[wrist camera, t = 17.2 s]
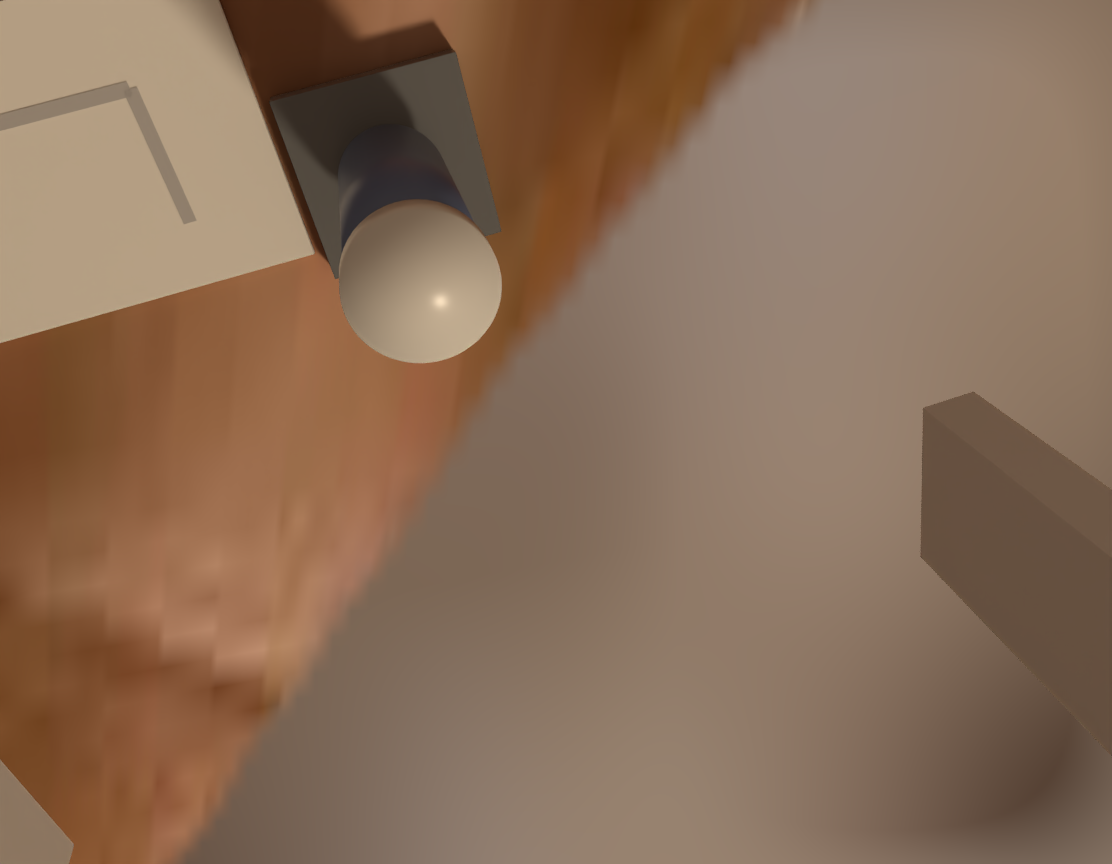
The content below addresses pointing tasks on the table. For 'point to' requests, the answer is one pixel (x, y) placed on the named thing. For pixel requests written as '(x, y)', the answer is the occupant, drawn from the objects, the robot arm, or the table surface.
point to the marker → (411, 250)
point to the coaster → (376, 99)
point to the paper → (129, 160)
